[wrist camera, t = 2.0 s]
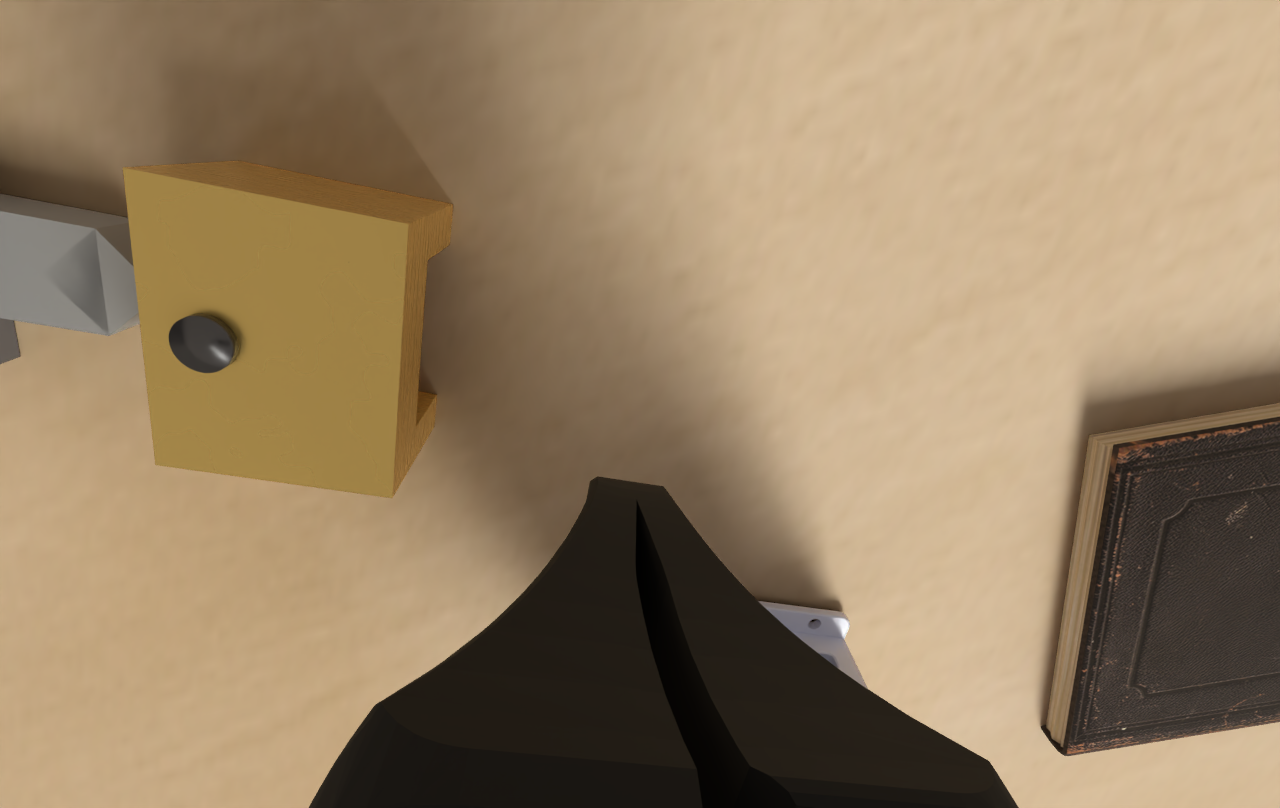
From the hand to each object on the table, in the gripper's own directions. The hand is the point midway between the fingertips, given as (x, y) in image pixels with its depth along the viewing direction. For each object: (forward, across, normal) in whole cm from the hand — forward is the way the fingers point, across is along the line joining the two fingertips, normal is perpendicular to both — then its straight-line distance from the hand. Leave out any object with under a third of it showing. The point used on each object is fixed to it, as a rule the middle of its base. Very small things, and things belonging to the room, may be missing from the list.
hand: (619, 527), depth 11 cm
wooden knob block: (+10, +8, 0) cm, 13 cm away
